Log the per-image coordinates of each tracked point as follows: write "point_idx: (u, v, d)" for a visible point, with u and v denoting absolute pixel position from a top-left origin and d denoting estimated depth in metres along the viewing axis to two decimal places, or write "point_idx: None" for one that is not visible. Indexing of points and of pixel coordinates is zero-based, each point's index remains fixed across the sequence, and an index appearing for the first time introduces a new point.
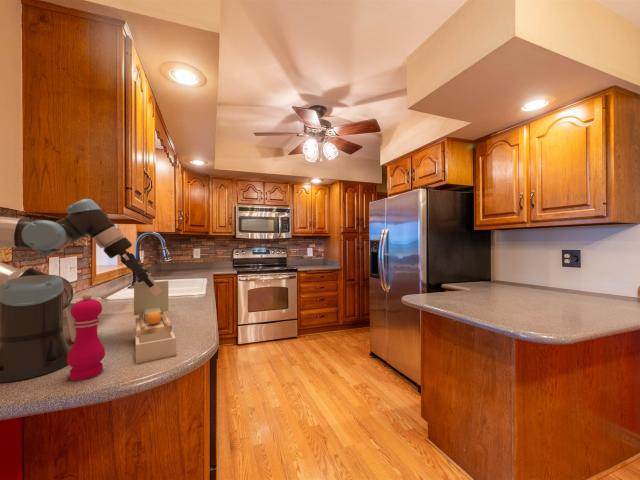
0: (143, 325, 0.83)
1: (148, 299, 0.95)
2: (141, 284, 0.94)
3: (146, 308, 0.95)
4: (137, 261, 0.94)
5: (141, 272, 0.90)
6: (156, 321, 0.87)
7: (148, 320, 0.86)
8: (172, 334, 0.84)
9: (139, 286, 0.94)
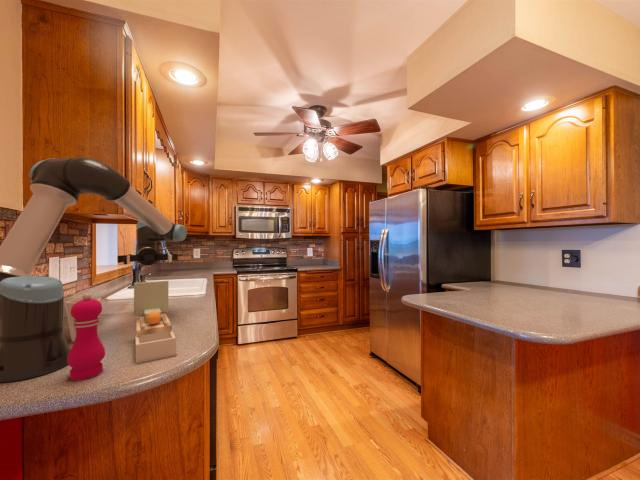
0: (143, 325, 0.83)
1: (148, 299, 0.95)
2: (141, 284, 0.94)
3: (146, 308, 0.95)
4: None
5: None
6: (156, 321, 0.87)
7: (148, 320, 0.86)
8: (172, 334, 0.84)
9: (139, 286, 0.94)
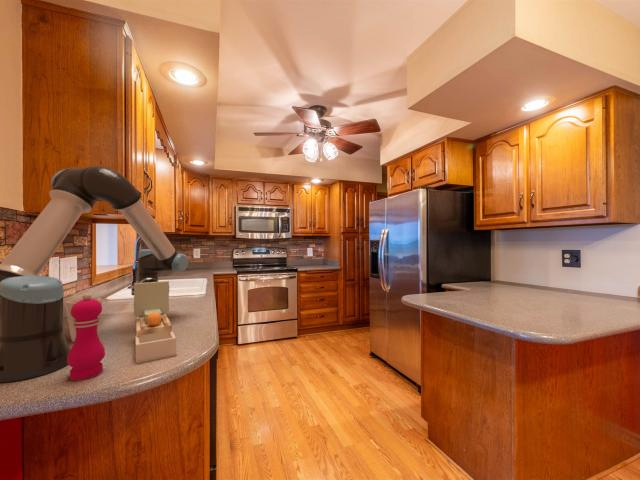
0: (143, 325, 0.83)
1: (148, 299, 0.94)
2: (141, 285, 0.93)
3: (146, 309, 0.93)
4: None
5: None
6: (156, 324, 0.86)
7: (148, 323, 0.85)
8: (172, 334, 0.84)
9: (139, 287, 0.92)
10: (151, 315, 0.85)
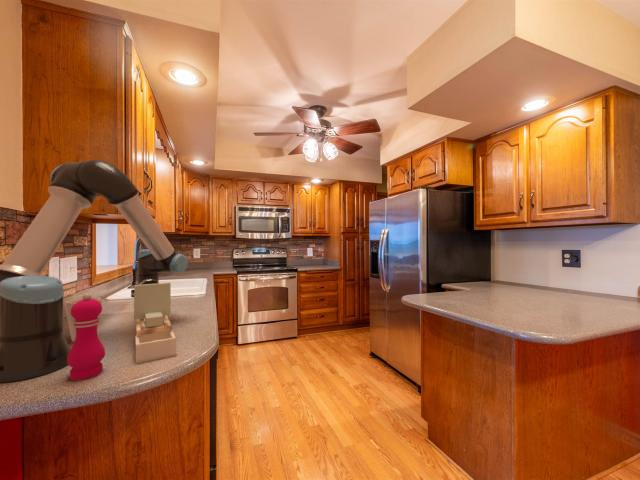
0: (143, 325, 0.83)
1: (149, 302, 0.90)
2: (142, 286, 0.89)
3: (147, 312, 0.90)
4: None
5: None
6: None
7: None
8: (172, 334, 0.84)
9: (140, 288, 0.89)
10: None
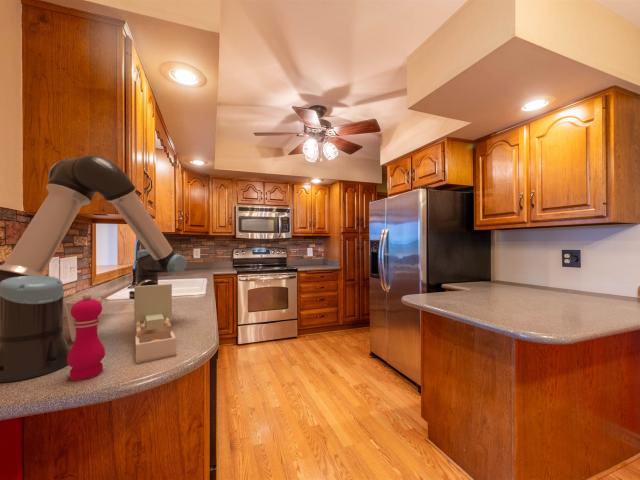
0: (143, 325, 0.83)
1: (150, 303, 0.87)
2: (142, 288, 0.86)
3: (148, 314, 0.87)
4: None
5: None
6: (158, 339, 0.82)
7: None
8: (172, 334, 0.84)
9: (140, 290, 0.86)
10: None
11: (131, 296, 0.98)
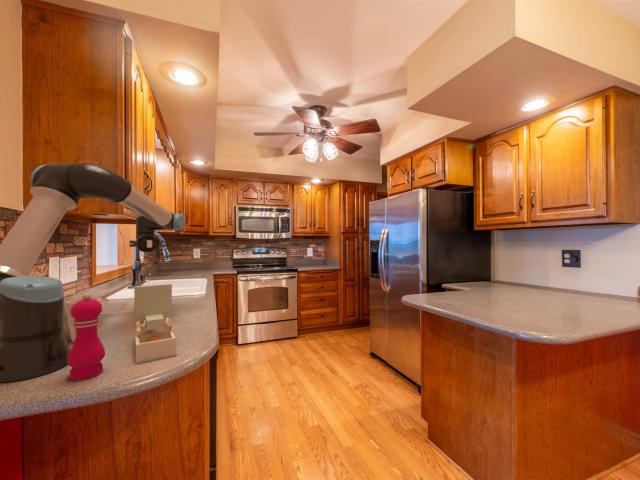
0: (143, 325, 0.83)
1: (150, 304, 0.87)
2: (142, 288, 0.86)
3: (148, 314, 0.87)
4: (152, 247, 1.17)
5: (159, 244, 1.15)
6: None
7: None
8: (172, 334, 0.84)
9: (140, 290, 0.86)
10: None
11: (131, 244, 1.14)
